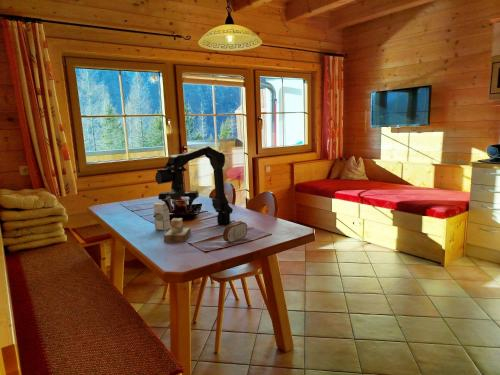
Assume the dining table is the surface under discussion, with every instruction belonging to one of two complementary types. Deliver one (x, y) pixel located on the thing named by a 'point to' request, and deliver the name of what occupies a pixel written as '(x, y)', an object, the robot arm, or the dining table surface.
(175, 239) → the plinth
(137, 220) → the dining table surface
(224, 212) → the robot arm
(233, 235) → the tin
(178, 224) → the block
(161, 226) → the syrup box
